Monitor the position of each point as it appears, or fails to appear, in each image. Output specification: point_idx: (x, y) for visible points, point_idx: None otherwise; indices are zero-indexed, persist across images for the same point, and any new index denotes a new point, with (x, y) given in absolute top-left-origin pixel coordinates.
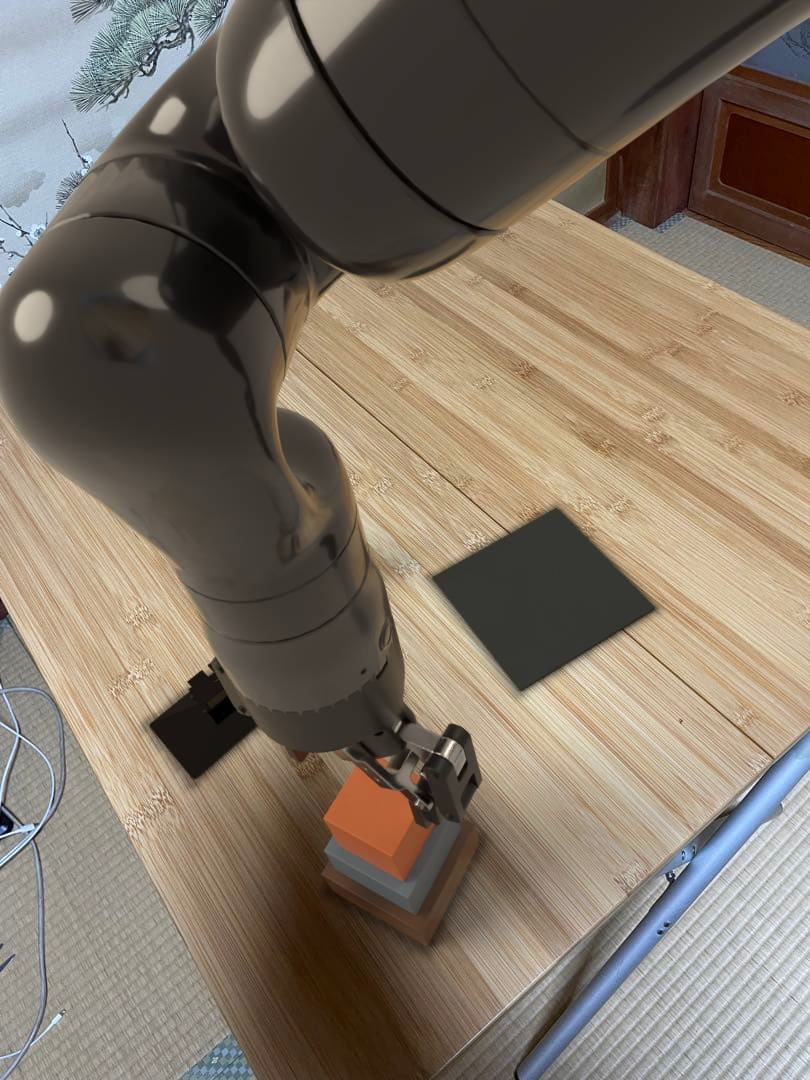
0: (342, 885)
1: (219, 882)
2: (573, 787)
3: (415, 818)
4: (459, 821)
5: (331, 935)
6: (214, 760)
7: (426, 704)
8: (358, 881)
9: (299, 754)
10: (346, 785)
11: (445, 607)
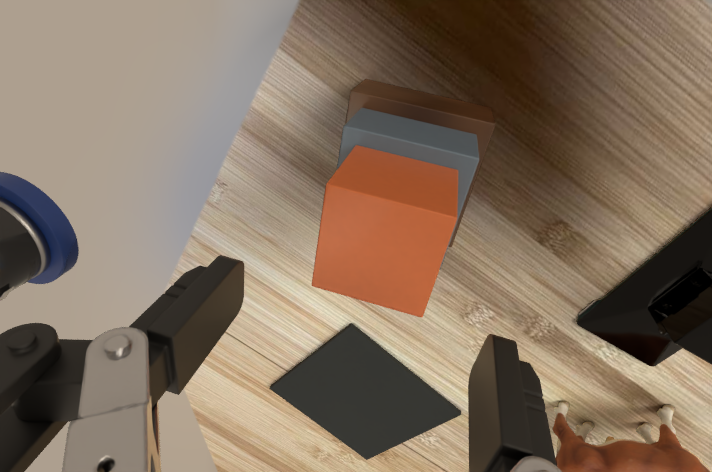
0: (462, 117)
1: (659, 75)
2: (283, 252)
3: (218, 278)
4: (2, 335)
5: (479, 56)
6: (697, 224)
7: (435, 306)
8: (439, 128)
9: (490, 358)
10: (434, 270)
11: (441, 388)
